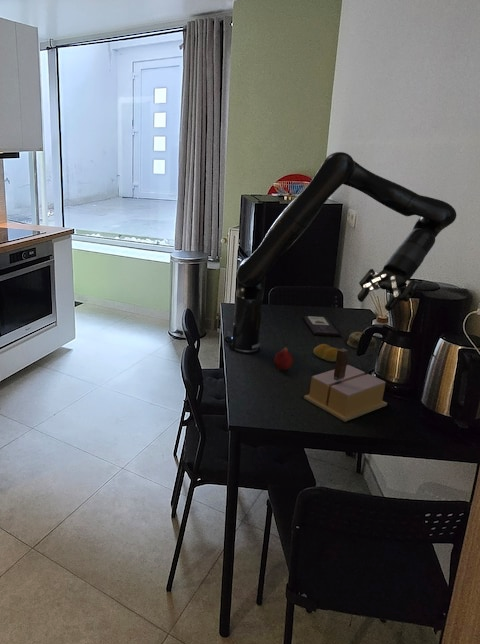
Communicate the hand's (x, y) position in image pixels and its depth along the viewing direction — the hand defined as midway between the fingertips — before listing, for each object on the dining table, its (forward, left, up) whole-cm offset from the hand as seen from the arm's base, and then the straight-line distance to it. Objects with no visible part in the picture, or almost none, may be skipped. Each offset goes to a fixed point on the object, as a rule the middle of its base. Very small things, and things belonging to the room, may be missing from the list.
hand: (372, 304), depth 137 cm
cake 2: (+9, +37, -28) cm, 47 cm away
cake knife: (-8, -11, -27) cm, 30 cm away
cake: (-5, -8, -28) cm, 29 cm away
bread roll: (-5, +23, -28) cm, 37 cm away
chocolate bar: (-3, +52, -28) cm, 59 cm away
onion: (-21, +8, -28) cm, 36 cm away
